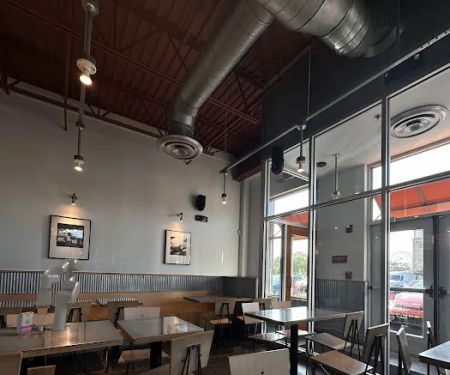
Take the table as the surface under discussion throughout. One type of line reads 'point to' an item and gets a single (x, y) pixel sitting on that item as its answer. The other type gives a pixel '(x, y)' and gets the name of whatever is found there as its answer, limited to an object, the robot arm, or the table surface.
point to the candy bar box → (24, 322)
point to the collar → (42, 311)
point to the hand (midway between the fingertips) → (42, 313)
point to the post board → (33, 334)
